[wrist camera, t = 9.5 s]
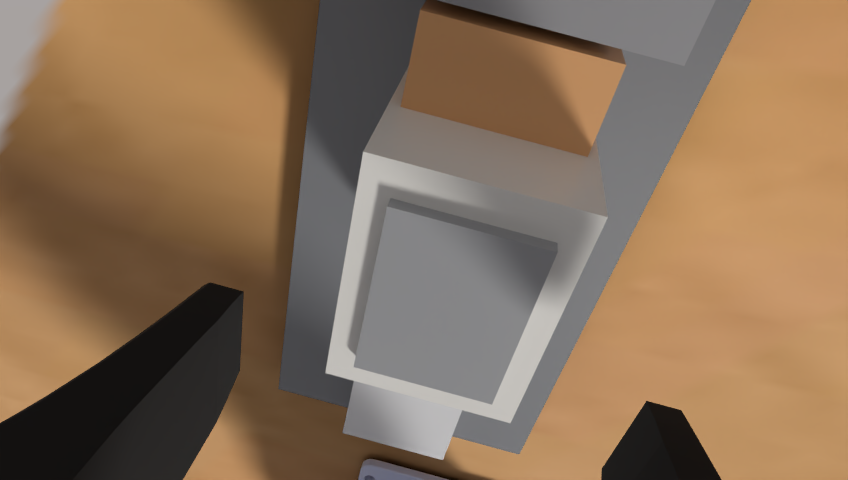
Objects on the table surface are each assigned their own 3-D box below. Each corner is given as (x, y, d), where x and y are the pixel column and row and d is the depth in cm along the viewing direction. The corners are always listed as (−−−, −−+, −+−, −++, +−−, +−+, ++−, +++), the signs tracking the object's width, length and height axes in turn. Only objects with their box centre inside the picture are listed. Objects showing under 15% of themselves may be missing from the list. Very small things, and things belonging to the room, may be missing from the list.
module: (518, 289, 19) (509, 433, 14) (373, 249, 19) (321, 382, 14) (591, 107, 15) (609, 226, 11) (412, 59, 15) (358, 159, 11)
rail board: (519, 433, 26) (514, 551, 22) (286, 370, 26) (238, 475, 22) (784, -101, 14) (883, -63, 10) (354, -214, 14) (276, -223, 10)
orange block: (581, 109, 15) (587, 157, 13) (420, 66, 15) (400, 106, 13) (614, 26, 14) (626, 64, 12) (438, -21, 14) (420, 10, 12)
